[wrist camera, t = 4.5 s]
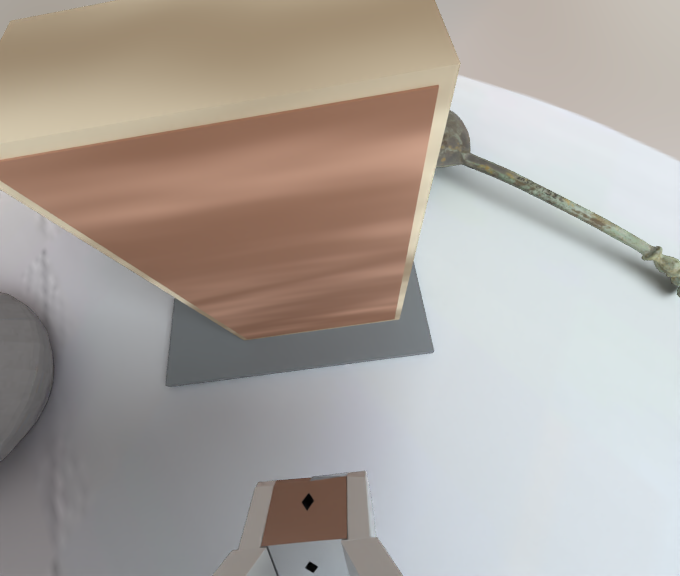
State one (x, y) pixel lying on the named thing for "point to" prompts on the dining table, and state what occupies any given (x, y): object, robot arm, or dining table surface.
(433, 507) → the dining table surface
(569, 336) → the dining table surface
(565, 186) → the dining table surface
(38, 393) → the coffee pot
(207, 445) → the dining table surface
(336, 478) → the robot arm
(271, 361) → the charcoal rubber mat
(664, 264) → the soupspoon
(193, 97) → the brown wooden block
